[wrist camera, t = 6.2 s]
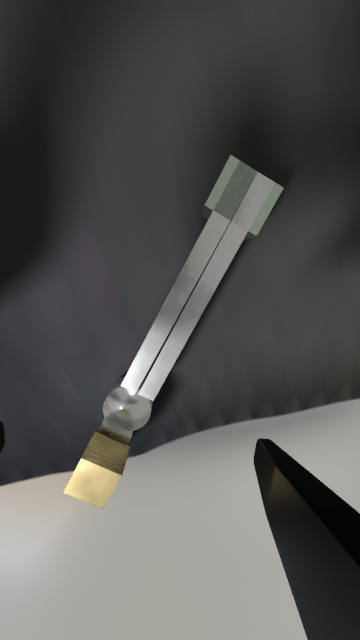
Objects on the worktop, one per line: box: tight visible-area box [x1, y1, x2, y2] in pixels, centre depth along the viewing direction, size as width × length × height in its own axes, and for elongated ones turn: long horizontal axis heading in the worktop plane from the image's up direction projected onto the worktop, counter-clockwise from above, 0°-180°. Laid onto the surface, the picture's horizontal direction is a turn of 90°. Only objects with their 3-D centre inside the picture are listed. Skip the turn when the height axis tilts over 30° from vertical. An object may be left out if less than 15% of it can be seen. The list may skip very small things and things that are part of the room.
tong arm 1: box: [121, 155, 257, 393], centre depth 16 cm, size 16×2×3 cm, turn 152°
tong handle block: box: [97, 375, 153, 446], centre depth 19 cm, size 7×4×3 cm, turn 152°
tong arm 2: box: [138, 172, 284, 401], centre depth 16 cm, size 16×2×3 cm, turn 152°
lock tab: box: [64, 432, 130, 509], centre depth 16 cm, size 3×3×2 cm
